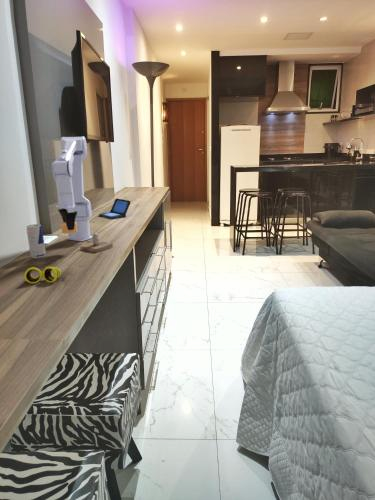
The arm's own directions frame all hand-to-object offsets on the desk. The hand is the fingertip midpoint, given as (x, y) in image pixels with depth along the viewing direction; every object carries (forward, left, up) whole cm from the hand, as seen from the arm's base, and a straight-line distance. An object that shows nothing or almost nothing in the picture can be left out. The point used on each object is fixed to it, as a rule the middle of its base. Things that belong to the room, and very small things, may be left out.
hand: (69, 228), depth 141 cm
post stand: (+6, +8, -9) cm, 13 cm away
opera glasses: (+17, -27, -10) cm, 33 cm away
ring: (0, 0, -1) cm, 1 cm away
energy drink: (-6, -11, -10) cm, 16 cm away
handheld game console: (-36, +63, -10) cm, 73 cm away
